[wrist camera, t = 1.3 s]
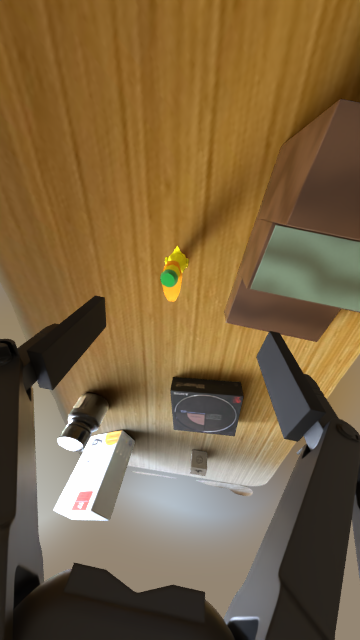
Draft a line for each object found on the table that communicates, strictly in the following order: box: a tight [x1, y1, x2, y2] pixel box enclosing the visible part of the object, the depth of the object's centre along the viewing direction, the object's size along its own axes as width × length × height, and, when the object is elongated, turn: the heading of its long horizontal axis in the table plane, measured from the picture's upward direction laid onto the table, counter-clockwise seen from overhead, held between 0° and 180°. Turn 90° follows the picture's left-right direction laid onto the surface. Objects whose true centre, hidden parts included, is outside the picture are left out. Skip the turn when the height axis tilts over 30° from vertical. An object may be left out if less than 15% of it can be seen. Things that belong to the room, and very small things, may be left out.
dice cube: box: [190, 450, 207, 476], centre depth 64 cm, size 5×5×5 cm
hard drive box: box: [54, 430, 135, 521], centre depth 59 cm, size 16×8×20 cm, turn 119°
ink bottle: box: [58, 393, 109, 451], centre depth 51 cm, size 10×9×12 cm
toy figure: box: [160, 246, 189, 302], centre depth 27 cm, size 7×4×12 cm, turn 177°
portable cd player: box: [170, 377, 244, 436], centre depth 49 cm, size 16×17×4 cm
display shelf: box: [224, 99, 360, 342], centre depth 24 cm, size 24×16×12 cm, turn 170°
